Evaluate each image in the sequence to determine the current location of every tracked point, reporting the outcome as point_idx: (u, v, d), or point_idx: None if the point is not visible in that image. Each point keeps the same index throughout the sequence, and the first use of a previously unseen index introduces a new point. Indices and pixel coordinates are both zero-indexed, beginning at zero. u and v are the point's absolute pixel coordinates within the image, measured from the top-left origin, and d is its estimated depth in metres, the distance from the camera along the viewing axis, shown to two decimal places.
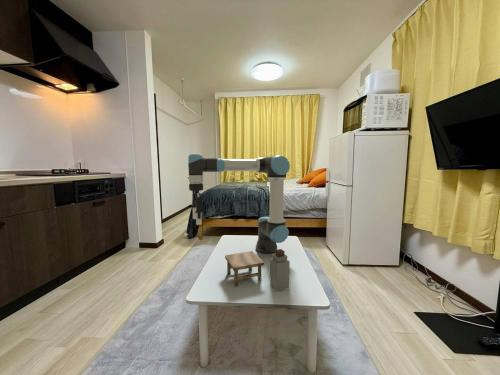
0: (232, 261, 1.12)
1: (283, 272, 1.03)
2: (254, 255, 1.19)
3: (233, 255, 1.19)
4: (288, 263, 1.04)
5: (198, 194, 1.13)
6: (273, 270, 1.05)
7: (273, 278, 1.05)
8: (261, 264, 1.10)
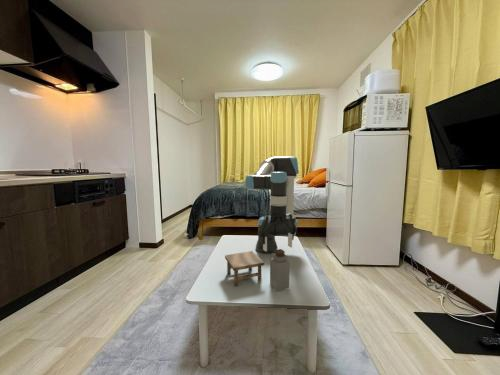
0: (232, 261, 1.12)
1: (283, 272, 1.03)
2: (254, 255, 1.19)
3: (233, 255, 1.19)
4: (288, 263, 1.04)
5: (265, 217, 1.01)
6: (273, 270, 1.05)
7: (273, 278, 1.05)
8: (261, 264, 1.10)
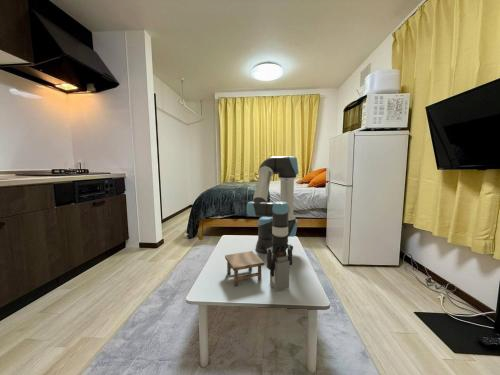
0: (232, 261, 1.12)
1: (283, 272, 1.03)
2: (254, 255, 1.19)
3: (233, 255, 1.19)
4: (288, 263, 1.04)
5: (267, 250, 1.03)
6: None
7: None
8: (261, 264, 1.10)
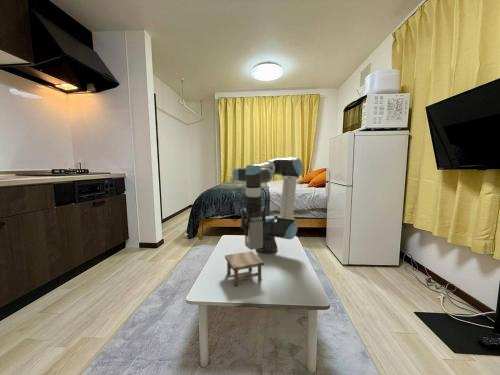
0: (232, 261, 1.12)
1: (257, 232, 1.08)
2: (254, 255, 1.19)
3: (233, 255, 1.19)
4: (261, 223, 1.09)
5: (241, 210, 1.07)
6: None
7: None
8: (261, 264, 1.10)
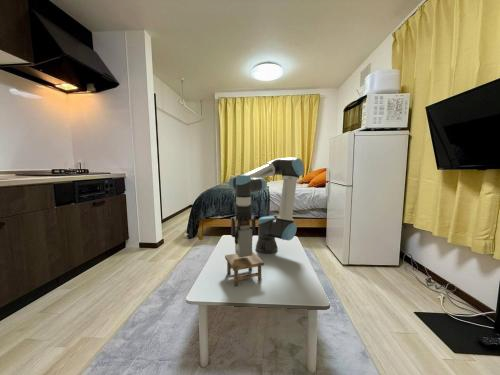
0: (232, 261, 1.12)
1: (246, 240, 1.11)
2: (254, 255, 1.19)
3: (233, 255, 1.19)
4: (251, 231, 1.11)
5: (231, 219, 1.10)
6: None
7: None
8: (261, 264, 1.10)
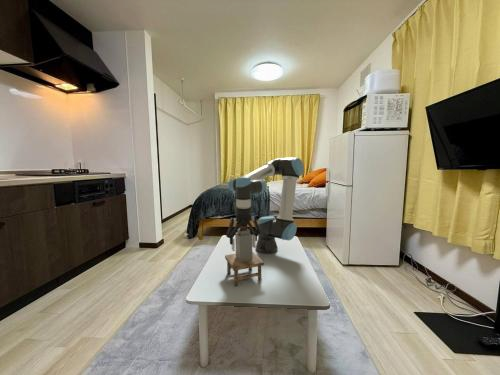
0: (232, 261, 1.12)
1: (246, 245, 1.11)
2: (254, 255, 1.19)
3: (233, 255, 1.19)
4: (250, 236, 1.12)
5: (231, 219, 1.10)
6: (237, 243, 1.13)
7: (237, 250, 1.13)
8: (261, 264, 1.10)
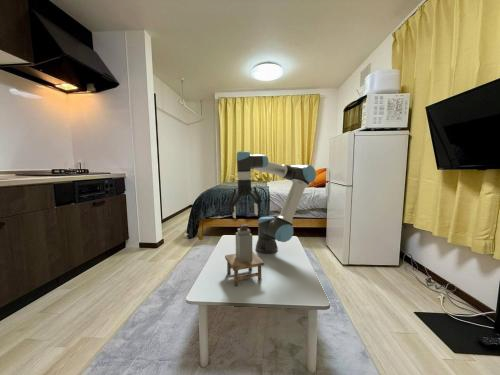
0: (232, 261, 1.12)
1: (246, 245, 1.11)
2: (254, 255, 1.19)
3: (233, 255, 1.19)
4: (251, 236, 1.12)
5: (233, 189, 1.21)
6: (237, 243, 1.13)
7: (238, 250, 1.13)
8: (261, 264, 1.10)
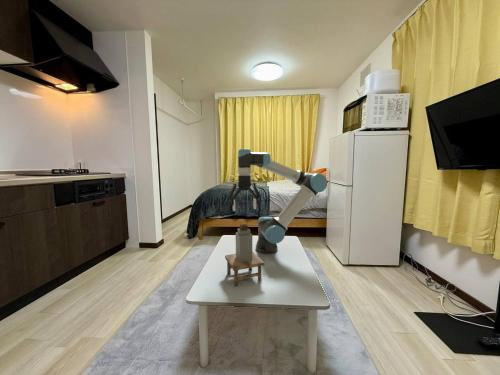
0: (232, 261, 1.12)
1: (246, 245, 1.11)
2: (254, 255, 1.19)
3: (233, 255, 1.19)
4: (251, 236, 1.12)
5: (233, 184, 1.30)
6: (237, 243, 1.13)
7: (238, 250, 1.13)
8: (261, 264, 1.10)
